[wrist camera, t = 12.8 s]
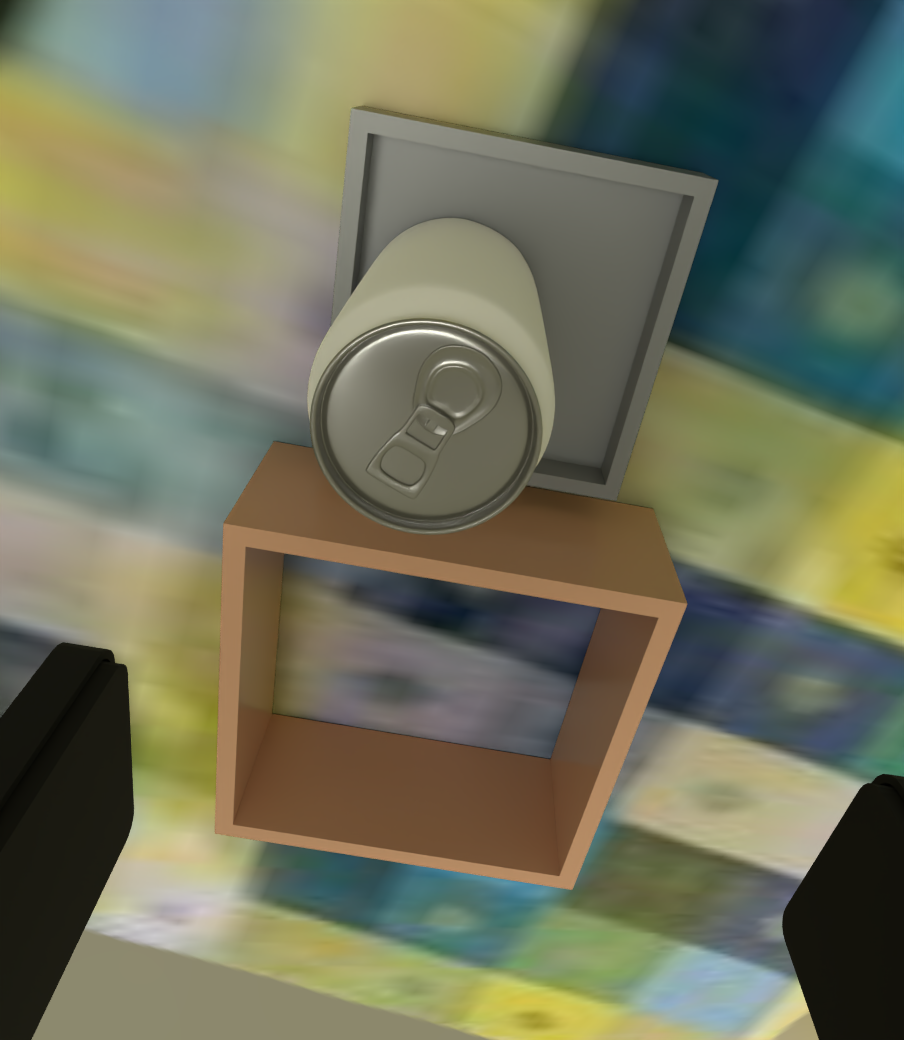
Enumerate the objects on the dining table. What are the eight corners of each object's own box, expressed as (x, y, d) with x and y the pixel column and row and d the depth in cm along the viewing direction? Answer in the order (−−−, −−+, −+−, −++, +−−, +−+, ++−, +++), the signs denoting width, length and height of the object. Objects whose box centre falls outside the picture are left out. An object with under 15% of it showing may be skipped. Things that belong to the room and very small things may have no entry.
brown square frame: (561, 772, 42) (572, 889, 36) (256, 722, 41) (214, 833, 35) (653, 508, 34) (687, 604, 28) (274, 441, 33) (223, 523, 27)
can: (574, 282, 28) (617, 401, 18) (474, 418, 31) (463, 590, 21) (424, 176, 27) (376, 239, 16) (334, 330, 30) (246, 466, 19)
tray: (609, 475, 33) (616, 501, 31) (329, 425, 33) (319, 448, 31) (702, 172, 27) (718, 180, 25) (362, 105, 27) (350, 108, 25)
